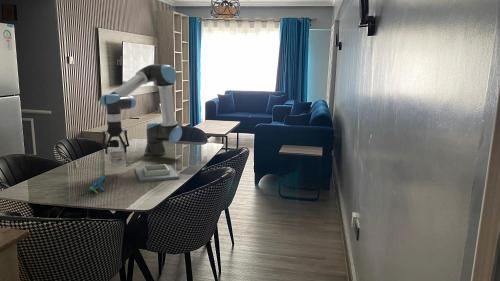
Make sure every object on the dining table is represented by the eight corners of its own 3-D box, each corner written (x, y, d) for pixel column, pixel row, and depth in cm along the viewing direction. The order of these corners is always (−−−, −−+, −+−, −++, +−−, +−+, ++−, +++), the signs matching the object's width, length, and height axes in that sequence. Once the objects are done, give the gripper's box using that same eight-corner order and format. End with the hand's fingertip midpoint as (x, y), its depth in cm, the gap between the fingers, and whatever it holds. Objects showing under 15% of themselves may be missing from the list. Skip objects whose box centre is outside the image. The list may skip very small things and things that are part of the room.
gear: (95, 183, 202) (106, 172, 198) (103, 191, 202) (114, 180, 199) (83, 193, 192) (93, 181, 188) (91, 201, 192) (102, 190, 189)
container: (110, 163, 221) (109, 142, 219) (108, 160, 228) (107, 139, 225) (124, 162, 225) (123, 141, 222) (122, 159, 232) (121, 138, 229)
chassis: (134, 169, 235) (134, 163, 235) (170, 167, 244) (170, 161, 243) (139, 182, 212) (139, 175, 211) (179, 178, 220) (179, 172, 220)
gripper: (95, 122, 214) (97, 161, 219) (133, 121, 222) (135, 158, 227) (94, 120, 221) (97, 158, 226) (132, 119, 229) (133, 155, 234)
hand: (116, 158), depth 226 cm, fingers closed on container, 8 cm apart
